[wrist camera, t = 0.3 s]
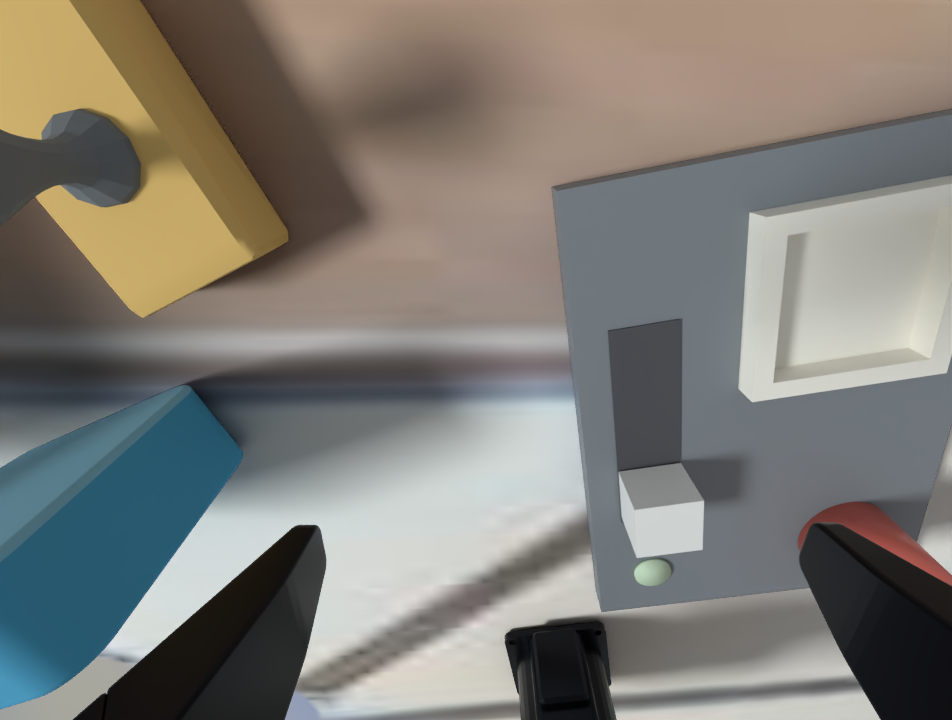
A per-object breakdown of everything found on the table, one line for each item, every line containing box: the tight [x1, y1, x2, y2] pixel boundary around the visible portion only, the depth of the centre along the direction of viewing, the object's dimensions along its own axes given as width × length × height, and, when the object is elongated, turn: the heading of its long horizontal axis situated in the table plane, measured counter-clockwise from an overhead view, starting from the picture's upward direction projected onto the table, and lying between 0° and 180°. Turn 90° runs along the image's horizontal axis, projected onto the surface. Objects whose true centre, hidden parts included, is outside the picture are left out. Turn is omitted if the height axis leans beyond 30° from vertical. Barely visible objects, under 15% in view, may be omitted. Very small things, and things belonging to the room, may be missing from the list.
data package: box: [0, 385, 243, 709], centre depth 19 cm, size 12×4×12 cm, turn 114°
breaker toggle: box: [619, 463, 704, 558], centre depth 22 cm, size 3×3×3 cm
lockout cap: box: [798, 502, 952, 586], centre depth 23 cm, size 4×4×4 cm
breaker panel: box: [552, 109, 952, 612], centre depth 22 cm, size 24×17×3 cm
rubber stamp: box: [0, 0, 288, 318], centre depth 13 cm, size 10×6×12 cm, turn 26°
